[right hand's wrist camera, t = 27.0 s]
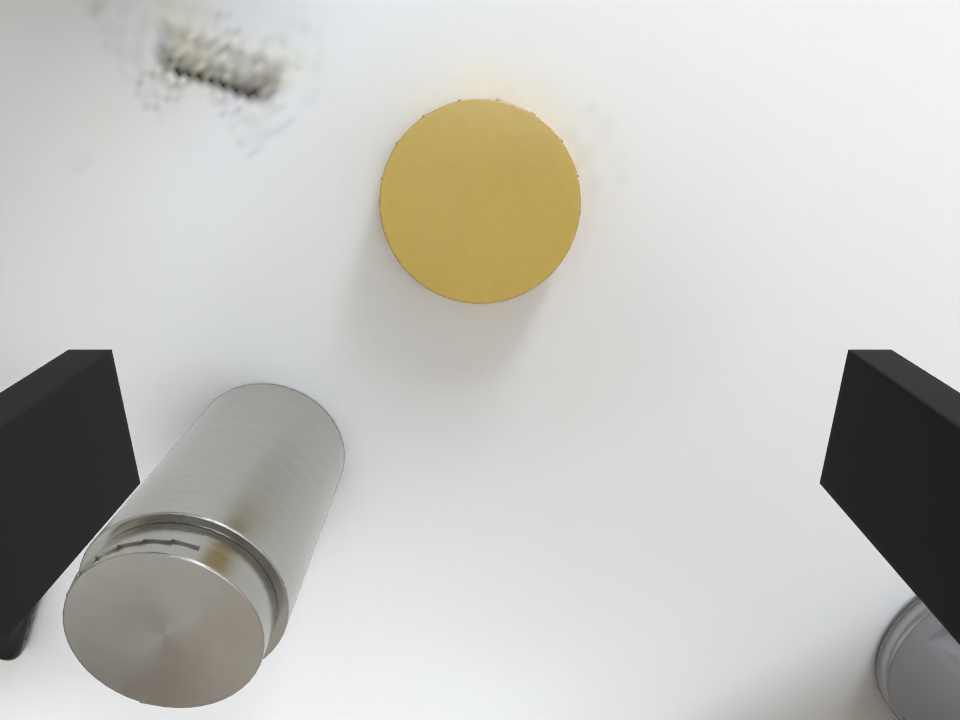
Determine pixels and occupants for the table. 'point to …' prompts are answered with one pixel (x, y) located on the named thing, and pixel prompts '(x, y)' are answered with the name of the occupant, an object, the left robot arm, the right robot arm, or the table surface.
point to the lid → (480, 201)
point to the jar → (208, 552)
